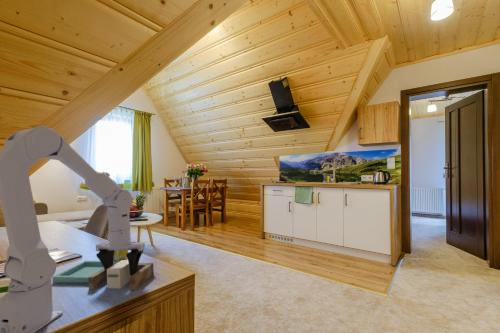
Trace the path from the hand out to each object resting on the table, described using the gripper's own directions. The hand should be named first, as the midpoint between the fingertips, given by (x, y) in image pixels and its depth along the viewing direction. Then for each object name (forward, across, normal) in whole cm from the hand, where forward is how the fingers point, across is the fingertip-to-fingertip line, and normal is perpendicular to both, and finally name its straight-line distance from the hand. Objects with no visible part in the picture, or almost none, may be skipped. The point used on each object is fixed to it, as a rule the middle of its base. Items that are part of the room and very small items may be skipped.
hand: (121, 274), depth 75 cm
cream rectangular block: (+3, 0, 0) cm, 3 cm away
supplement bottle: (+3, +12, -17) cm, 21 cm away
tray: (+2, +15, -5) cm, 16 cm away
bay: (+2, 0, 0) cm, 2 cm away
